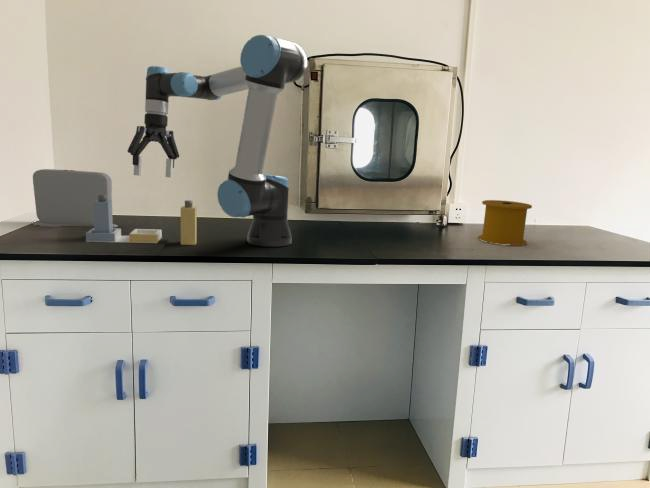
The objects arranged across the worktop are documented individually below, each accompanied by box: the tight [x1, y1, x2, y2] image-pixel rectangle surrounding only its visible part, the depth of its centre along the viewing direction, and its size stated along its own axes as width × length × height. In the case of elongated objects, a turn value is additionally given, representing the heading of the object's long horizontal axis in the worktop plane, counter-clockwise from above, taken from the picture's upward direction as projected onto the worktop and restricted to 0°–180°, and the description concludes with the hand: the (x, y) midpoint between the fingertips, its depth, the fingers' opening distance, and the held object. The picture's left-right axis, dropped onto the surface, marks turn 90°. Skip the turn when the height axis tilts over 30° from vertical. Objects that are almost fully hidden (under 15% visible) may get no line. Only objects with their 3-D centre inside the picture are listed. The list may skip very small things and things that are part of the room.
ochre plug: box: [180, 199, 198, 246], centre depth 171 cm, size 4×4×14 cm
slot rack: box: [85, 227, 163, 244], centre depth 169 cm, size 22×10×4 cm, turn 98°
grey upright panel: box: [31, 168, 119, 228], centre depth 189 cm, size 31×10×20 cm, turn 84°
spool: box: [477, 199, 533, 245], centre depth 201 cm, size 18×18×15 cm
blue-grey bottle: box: [93, 195, 114, 233], centre depth 167 cm, size 4×4×14 cm
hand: (153, 176), depth 182 cm, fingers open, 13 cm apart
